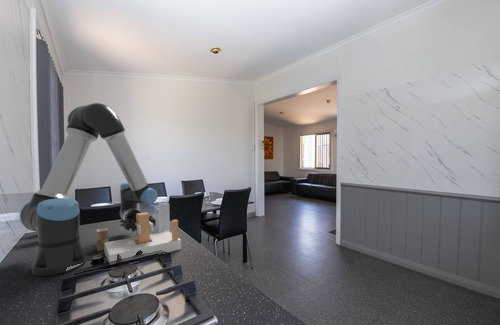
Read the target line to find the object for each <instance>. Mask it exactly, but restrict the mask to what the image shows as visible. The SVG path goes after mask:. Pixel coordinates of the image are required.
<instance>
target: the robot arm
mask: <svg viewBox="0 0 500 325" xmlns="http://www.w3.org/2000/svg"><path fill="white" fill-rule="evenodd" d="M65 131H66V132H67V136H66V138H65V139H64V142H63V145H62V147H61V148H60V151H59V153H58V155H57V157H56V158H55V161H54V163H53V165H52V168H51V169H50V171H49V173H48V174H47V177H46V179H45V181H44V183H43V186H42V188H41V189H40V190H37V191H35V192H34V193H33V195H32V197H31V199H30V200H29V201H28V202H27V203H26V204H24V205H23V207H22V208H21V210H20V213H19V220H20V221H19V222H20V223H21V224H22V226H24V227H25V228H26V229H28V230H30V231H32V232H36V233H37V245H38V246H37V247H38V248H37V251H36V254H35V257H34V260H33V262H32V264H31V274H32V275H33V276H36V277H38V276H39V277H49V276H55V275H59V274H64V273H67V272H66V269H67V267H70V266H74V265H77V264H81V263H84V262H85V263H86V262H87V254H86V252H85V250H84V248H83V245H82V243H81V240H80V239H81V238H80V236H81V234H80V206H79V202H78V201H77V200H76V199H73V198H69V196H68V195H69V193H70V190H71V188H72V186H73V184H74V182H75V180H76V177H77V175H78V172H79V170H80V168H81V166H82V163H83V162H84V159H85V156H86V155H87V152H88V151H89V147H90V146H91V144H92V143H93V142H94V143H95V142H96V141H97V140H98V138H99V136H100V139H102V140H104V141H105V142H106V143H107V144H106V145H107V146H108V148H109V150H110V151H111V153H112V155H113V157H114V159H115V161H116V163H117V166H118V167H119V168H120V171H121V172H122V175H123V176H124V179H125V180H126V182H122V183H121V184H120V187H119V188H120V190H119V194H120V196H119V197H120V210H119V216H120V218H121V219H120V221H119V222H120V227H123V228H124V229H125V230H126V231H130V230H131V232H132V233H133V232H135V231H136V233H137V232H138V233H139V234H140V233H141V226H140V225H139V224H138V223H137V222H136V214H137V213H142V212H141V211H140V210H139V209H138V204H140V205H152V204H154V203H155V202H156V201H157V199H158V191H157V190H156V189H154V188H152V187H151V186H150V185H149V183H148V181H147V178H146V177H145V175H144V172H143V170H142V169H141V166H140V164H139V162H138V160H137V158H136V156H135V154H134V152H133V149H132V147H131V145H130V143H129V141H128V139H127V137H126V135H125V132H126V129H125V127H124V125H123V123H122V121H121V119H120V118H119V116H118V114H116V112H115V111H114V110H113V109H112V108H111V107H109V106H108V105H106V104H104V103H100V102H94V103H90V104H87V105H82V106H78V107H75V108H74V109H73V110H71V111H70V112H69V114H68V116H67V126H66V128H65ZM156 220H157V219H156V218H154V217H153V215H149V231H151V232H154V227H156V225H157V224H156V222H157V221H156ZM85 263H84V264H85Z"/></svg>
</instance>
